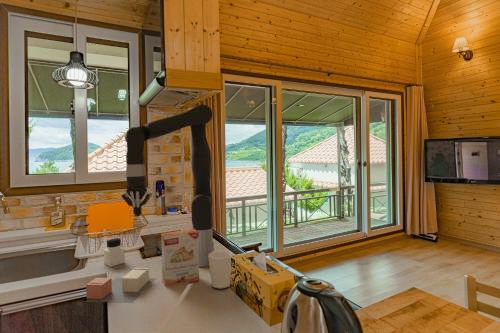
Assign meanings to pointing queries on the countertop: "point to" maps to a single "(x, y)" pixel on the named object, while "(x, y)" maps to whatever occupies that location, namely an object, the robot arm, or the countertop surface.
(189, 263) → the cracker box
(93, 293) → the stub
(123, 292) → the white piece
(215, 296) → the countertop surface
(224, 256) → the cup
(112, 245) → the medicine bottle
